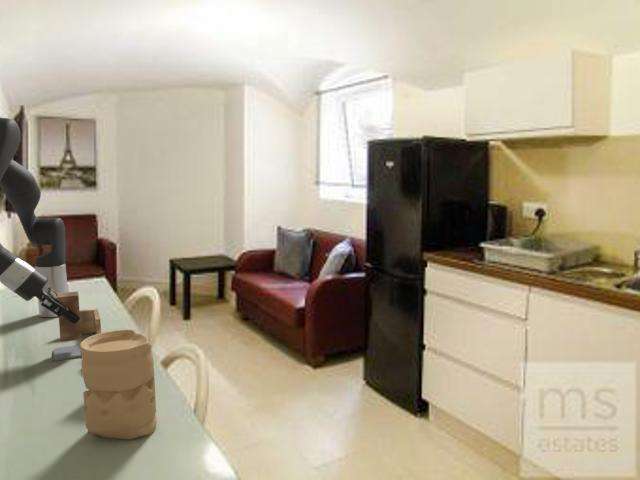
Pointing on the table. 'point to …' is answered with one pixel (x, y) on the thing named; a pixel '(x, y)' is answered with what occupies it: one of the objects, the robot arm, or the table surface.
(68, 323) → the plate
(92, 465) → the table surface
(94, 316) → the shelf end
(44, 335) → the table surface
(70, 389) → the table surface
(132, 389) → the container
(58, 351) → the mat
